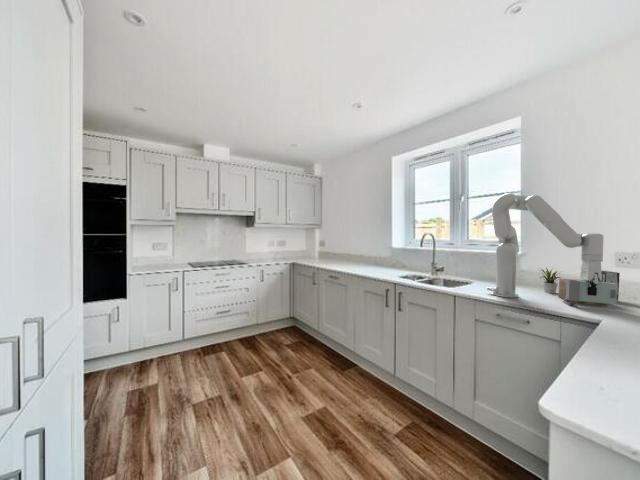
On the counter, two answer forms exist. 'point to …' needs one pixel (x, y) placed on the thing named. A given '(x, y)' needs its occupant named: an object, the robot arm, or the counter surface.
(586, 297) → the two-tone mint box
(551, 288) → the house plant
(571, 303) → the cabinet
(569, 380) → the counter surface
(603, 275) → the coffee box
